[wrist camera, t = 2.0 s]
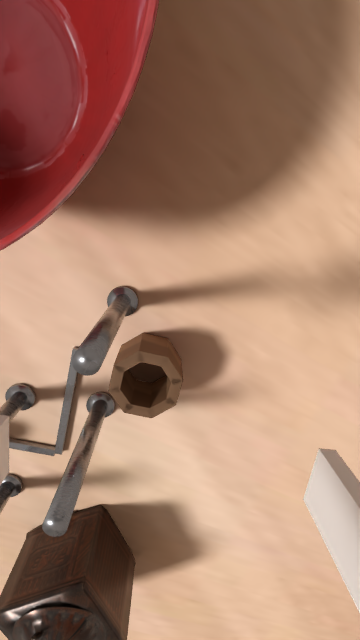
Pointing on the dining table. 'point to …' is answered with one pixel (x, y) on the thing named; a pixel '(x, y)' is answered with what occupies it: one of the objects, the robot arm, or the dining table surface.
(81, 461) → the wire course
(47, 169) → the mixing bowl
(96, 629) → the brown coffee grinder
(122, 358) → the napkin ring
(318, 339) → the dining table surface
